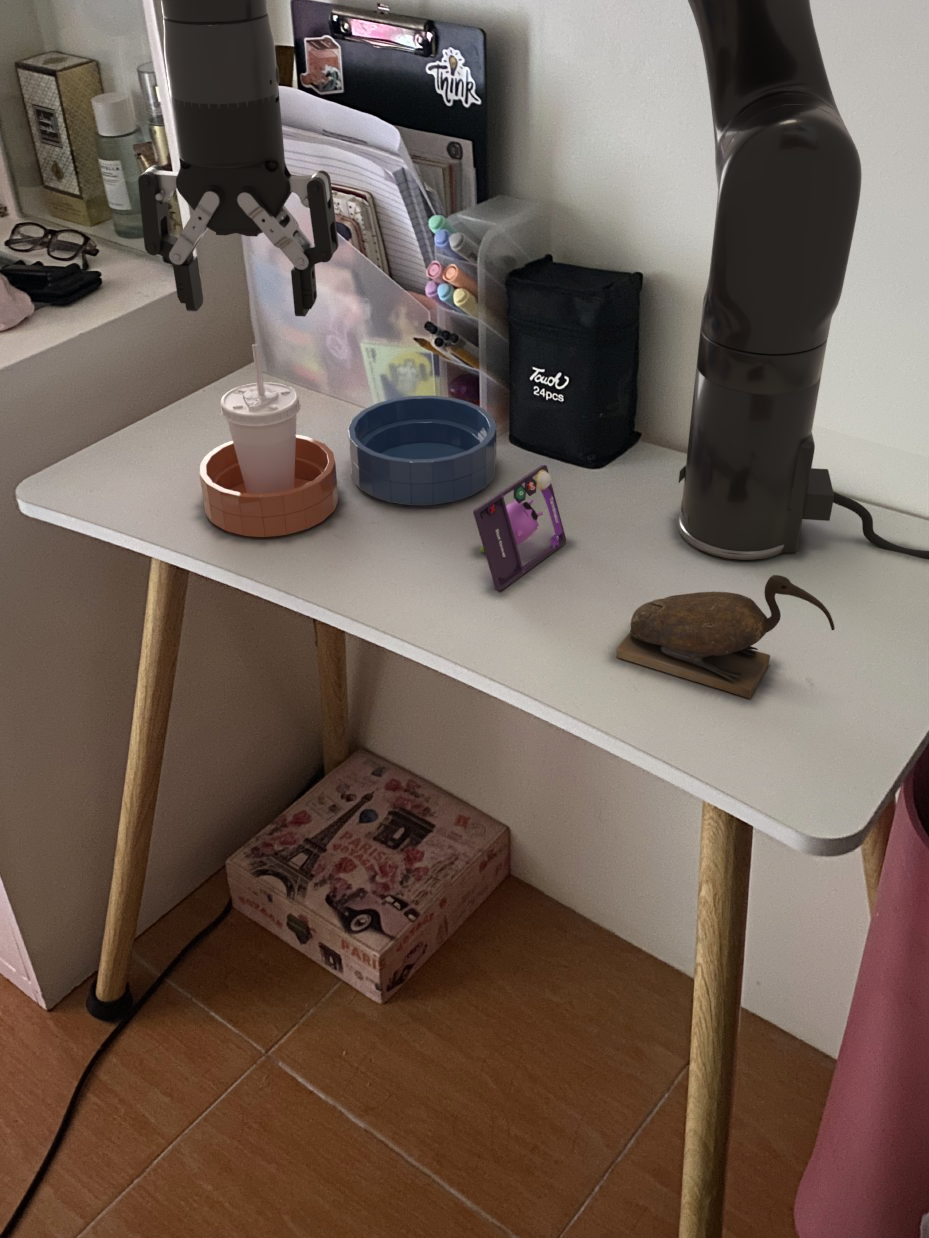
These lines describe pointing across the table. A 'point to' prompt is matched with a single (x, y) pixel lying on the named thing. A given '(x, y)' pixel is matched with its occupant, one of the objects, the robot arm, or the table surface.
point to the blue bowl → (422, 450)
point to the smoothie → (263, 431)
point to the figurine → (709, 635)
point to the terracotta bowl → (270, 510)
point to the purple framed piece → (516, 527)
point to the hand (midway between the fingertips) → (249, 310)
